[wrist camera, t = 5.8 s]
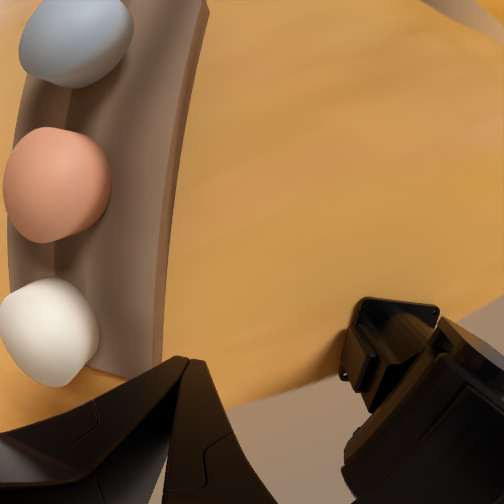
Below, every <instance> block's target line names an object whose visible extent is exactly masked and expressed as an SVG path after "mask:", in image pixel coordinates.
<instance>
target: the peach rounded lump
mask: <svg viewBox="0 0 504 504" xmlns="http://www.w3.org/2000/svg"><path fill="white" fill-rule="evenodd" d="M111 184H112V177H111V168H110V164H109V160H108V158H107V155H106V153H105V152H104V150H103V148H102V147H101V146H100V144H99V143H98V142H97V141H95V140H94V139H93V138H91V137H89V136H87V135H85V134H81V133H77V132H72V131H67V130H62V129H58V128H53V127H42V128H38V129H35V130H33V131H31V132H30V133H28V134H27V135H25V136H24V137H23V138H22V139H21V140H20V141H19V142H18V144H17V145H16V146H15V148H14V149H13V151H12V153H11V155H10V157H9V159H8V162H7V165H6V168H5V173H4V180H3V197H4V203H5V207H6V211H7V214H8V216H9V218H10V220H11V222H12V224H13V226H14V227H15V228H16V230H17V231H18V232H19V233H20V234H21V235H22V236H24V237H25V238H26V239H28V240H30V241H33V242H36V243H48V242H52V241H55V240H58V239H61V238H64V237H67V236H70V235H73V234H76V233H79V232H82V231H84V230H86V229H88V228H90V227H91V226H92V225H93V224H94V223H96V221H97V220H98V219H99V218H100V216H101V215H102V214H103V212H104V210H105V208H106V206H107V203H108V200H109V197H110V192H111Z"/></svg>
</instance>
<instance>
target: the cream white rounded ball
mask: <svg viewBox="0 0 504 504" xmlns="http://www.w3.org/2000/svg"><path fill="white" fill-rule="evenodd" d="M0 332H1V336H2V339H3V342H4V344H5V346H6V348H7V350H8V352H9V354H10V356H11V357H12V359H13V360H14V362H15V363H16V364H17V365H18V366H19V368H20V369H21V370H22V371H23V372H24V373H25V374H27V375H28V376H29V377H30V378H32V379H33V380H35V381H36V382H38V383H40V384H43V385H45V386H49V387H62V386H65V385H67V384H68V383H69V382H70V381H71V380H72V379H73V378H74V377H75V376H76V374H77V373H78V372H79V371H80V370H81V369H82V368H83V366H84V365H85V364H86V363H87V362H88V361H89V360H90V359H91V357H92V356H93V355H94V354H95V352H96V350H97V348H98V344H99V327H98V323H97V319H96V316H95V314H94V312H93V309H92V308H91V306H90V304H89V303H88V301H87V300H86V298H85V297H84V296H83V295H82V293H81V292H80V291H79V290H78V289H77V288H76V287H74V286H73V285H72V284H70V283H69V282H67V281H65V280H63V279H61V278H58V277H53V276H47V277H42V278H40V279H38V280H36V281H34V282H32V283H30V284H28V285H26V286H24V287H22V288H20V289H18V290H17V291H15V292H13V293H11V294H9V295H8V296H7V297H6V298H5V299H4V300H3V302H2V304H1V306H0Z"/></svg>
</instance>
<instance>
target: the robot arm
mask: <svg viewBox="0 0 504 504" xmlns="http://www.w3.org/2000/svg"><path fill="white" fill-rule="evenodd" d="M368 302H370V305H369V306H368V307H364V306H365V304H366V303H368ZM434 310H435V312H434V313H433V314H432V311H434ZM439 314H440V309H439V308H438V307H437V306H435V305H430V304H422V303H414V302H405V301H397V300H389V299H381V298H374V297H364V298H363V299H362V300H361V301H360V303H359V307H358V310H357V314H356V317H355V321H354V325H352V326H351V327H350V328H349V330H348V334H347V337H346V341H345V344H344V347H343V350H342V354H341V357H340V359H341V361H342V364H341V367H340V370H339V374H338V375H339V377H340V379H341V380H342V381H349V382H350V383H351V386H352V388H353V390H354V391H355V393H361V395H362V398H363V400H364V402H365V405H366V407H367V410H368V412H369V413H372V415H371V416H370V417H369V418H368V420H367V421H366V422H365V423H364V424H363V425H362V426H361V427H358V428H357V430H356V431H355V432H354V433H353V436H352V438H351V439H350V440H349V441H348V443H347V445H346V447H345V449H344V464H345V465H344V466H343V467H342V468H341V473H342V476H343V478H344V481H345V483H346V485H347V487H348V488H349V490H350V491H351V493H352V494H353V496H354V497H355V498H356V500H355V501H354V502H352V503H351V504H504V356H503V355H502V354H500V353H499V352H498V351H497V350H495V349H494V348H493V347H491V346H490V345H489V344H488V343H486V342H485V341H483V340H482V339H480V338H478V337H477V336H475V335H474V334H472V333H470V332H469V331H467V330H465V329H464V328H462V327H460V326H459V325H457V324H455V323H454V322H452V321H450V320H449V319H447V318H445V317H444V316H442V317H441V318H440V320H439V322H438V323H437V320H438V317H439ZM436 323H437V325H438V326H437V328H436V329H435V326H436ZM434 329H435V330H434ZM345 373H347V375H345V376H344V374H345ZM167 455H168V457H167ZM166 458H167V465H166V472H165V480H164V488H163V496H162V504H278V503H277V502H276V500H275V499H274V498H273V496H272V495H271V494H270V492H269V491H268V490H267V488H266V487H265V486H264V484H263V483H262V481H261V480H260V479H259V477H258V476H257V474H256V473H255V471H254V470H253V468H252V467H251V465H250V463H249V462H248V460H247V459H246V457H245V455H244V453H243V451H242V449H241V447H240V445H239V443H238V440H237V438H236V436H235V434H234V432H233V429H232V427H231V424H230V422H229V420H228V417H227V415H226V412H225V410H224V408H223V405H222V403H221V400H220V398H219V395H218V393H217V390H216V388H215V385H214V383H213V380H212V377H211V375H210V372H209V369H208V367H207V364H206V362H205V361H203V360H198V359H191V360H190V359H189V358H187V357H182V356H173V357H172V358H170V359H168V360H166V361H164V362H163V363H161V364H159V365H157V366H155V367H153V368H152V369H150V370H148V371H146V372H144V373H142V374H140V375H139V376H137V377H135V378H133V379H131V380H129V381H127V382H125V383H123V384H121V385H120V386H118V387H116V388H114V389H112V390H110V391H108V392H106V393H104V394H102V395H100V396H98V397H96V398H94V399H93V400H90V401H88V402H86V403H84V404H82V405H80V406H78V407H76V408H73V409H71V410H69V411H67V412H64V413H62V414H59V415H56V416H54V417H51V418H48V419H45V420H42V421H39V422H36V423H33V424H30V425H27V426H24V427H21V428H17V429H14V430H11V431H7V432H3V433H0V504H148V502H149V500H150V497H151V495H152V493H153V490H154V488H155V485H156V483H157V480H158V478H159V475H160V473H161V470H162V468H163V465H164V463H165V460H166Z"/></svg>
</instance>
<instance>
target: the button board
mask: <svg viewBox="0 0 504 504" xmlns="http://www.w3.org/2000/svg"><path fill="white" fill-rule="evenodd" d="M121 2H122V3H123V4H124V5H125V6H126V8H127V9H128V10H129V11H130V13H131V15H132V17H133V22H134V31H133V36H132V40H131V42H130V45H129V47H128V49H127V51H126V53H125V54H124V56H123V57H122V59H121V60H120V61H119V63H118V64H117V65H116V66H115V67H114V68H113V69H112V70H111V71H110V72H109V73H108V74H107V75H105V76H104V77H103V78H101V79H100V80H98V81H96V82H95V83H93V84H91V85H88V86H86V87H82V88H77V89H68V88H64V87H61V86H58V85H56V84H53V83H51V82H48V81H46V80H43V79H41V78H38V77H35V76H33V75H30V74H29V73H27V77H26V81H25V85H24V89H23V93H22V98H21V102H20V107H19V112H18V117H17V123H16V129H15V135H14V142H13V149H14V148H15V146H16V145H17V144H18V142H19V141H20V140H21V139H22V138H23V137H24V136H25V135H27V134H28V133H30V132H31V131H33V130H35V129H38V128H42V127H53V128H58V129H62V130H67V131H72V132H77V133H81V134H85V135H87V136H89V137H91V138H93V139H94V140H95V141H97V142H98V143H99V144H100V146H101V147H102V148H103V150H104V152H105V153H106V155H107V158H108V160H109V164H110V168H111V177H112V184H111V192H110V197H109V200H108V203H107V206H106V208H105V210H104V212H103V214H102V215H101V216H100V218H99V219H98V220H97V221H96V223H94V224H93V225H92V226H91V227H90V228H88V229H86V230H84V231H82V232H79V233H76V234H73V235H70V236H67V237H64V238H61V239H58V240H55V241H52V242H48V243H36V242H33V241H30V240H28V239H26V238H25V237H24V236H22V235H21V234H20V233H19V232H18V231H17V230H16V228H15V227H14V226H13V224H12V222H11V220H10V218H9V216H8V215H7V242H8V267H9V281H10V292H11V293H13V292H15V291H17V290H18V289H20V288H22V287H24V286H26V285H28V284H30V283H32V282H34V281H36V280H38V279H40V278H42V277H47V276H53V277H58V278H61V279H63V280H65V281H67V282H69V283H70V284H72V285H73V286H74V287H76V288H77V289H78V290H79V291H80V292H81V293H82V295H83V296H84V297H85V298H86V300H87V301H88V303H89V304H90V306H91V308H92V309H93V312H94V314H95V316H96V319H97V323H98V327H99V344H98V348H97V350H96V352H95V354H94V355H93V356H92V357H91V359H90V360H89V361H88V362H87V363H86V364H85V366H88V367H91V368H94V369H97V370H101V371H104V372H107V373H111V374H114V375H118V376H121V377H125V378H129V379H133V378H135V377H137V376H139V375H140V374H142V373H144V372H146V371H148V370H150V369H152V368H153V367H155V366H157V365H159V364H161V363H162V343H163V321H164V304H165V289H166V276H167V264H168V253H169V243H170V233H171V224H172V215H173V207H174V199H175V191H176V184H177V176H178V169H179V163H180V156H181V150H182V143H183V137H184V131H185V125H186V120H187V114H188V109H189V103H190V98H191V93H192V88H193V83H194V78H195V73H196V69H197V64H198V59H199V55H200V50H201V46H202V42H203V38H204V33H205V29H206V25H207V21H208V17H209V13H210V12H209V9H208V6H207V3H206V0H121ZM13 149H12V151H13Z"/></svg>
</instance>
